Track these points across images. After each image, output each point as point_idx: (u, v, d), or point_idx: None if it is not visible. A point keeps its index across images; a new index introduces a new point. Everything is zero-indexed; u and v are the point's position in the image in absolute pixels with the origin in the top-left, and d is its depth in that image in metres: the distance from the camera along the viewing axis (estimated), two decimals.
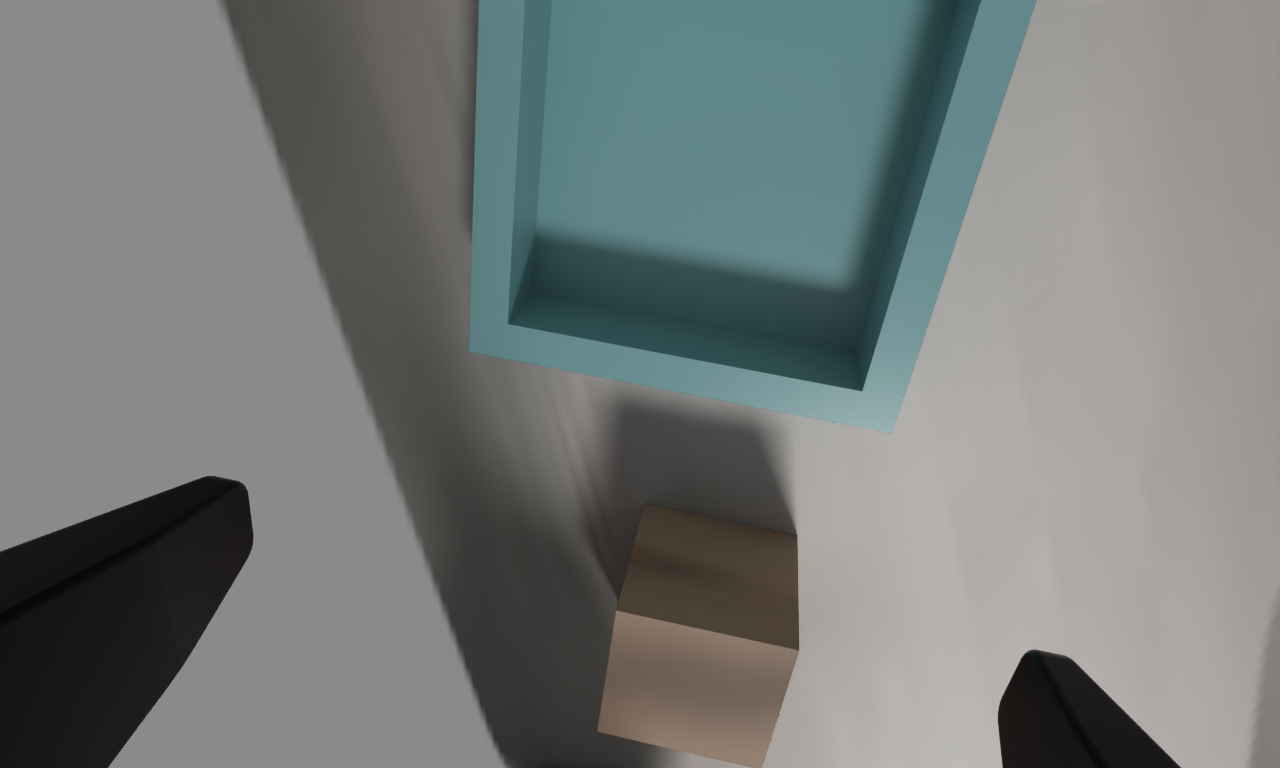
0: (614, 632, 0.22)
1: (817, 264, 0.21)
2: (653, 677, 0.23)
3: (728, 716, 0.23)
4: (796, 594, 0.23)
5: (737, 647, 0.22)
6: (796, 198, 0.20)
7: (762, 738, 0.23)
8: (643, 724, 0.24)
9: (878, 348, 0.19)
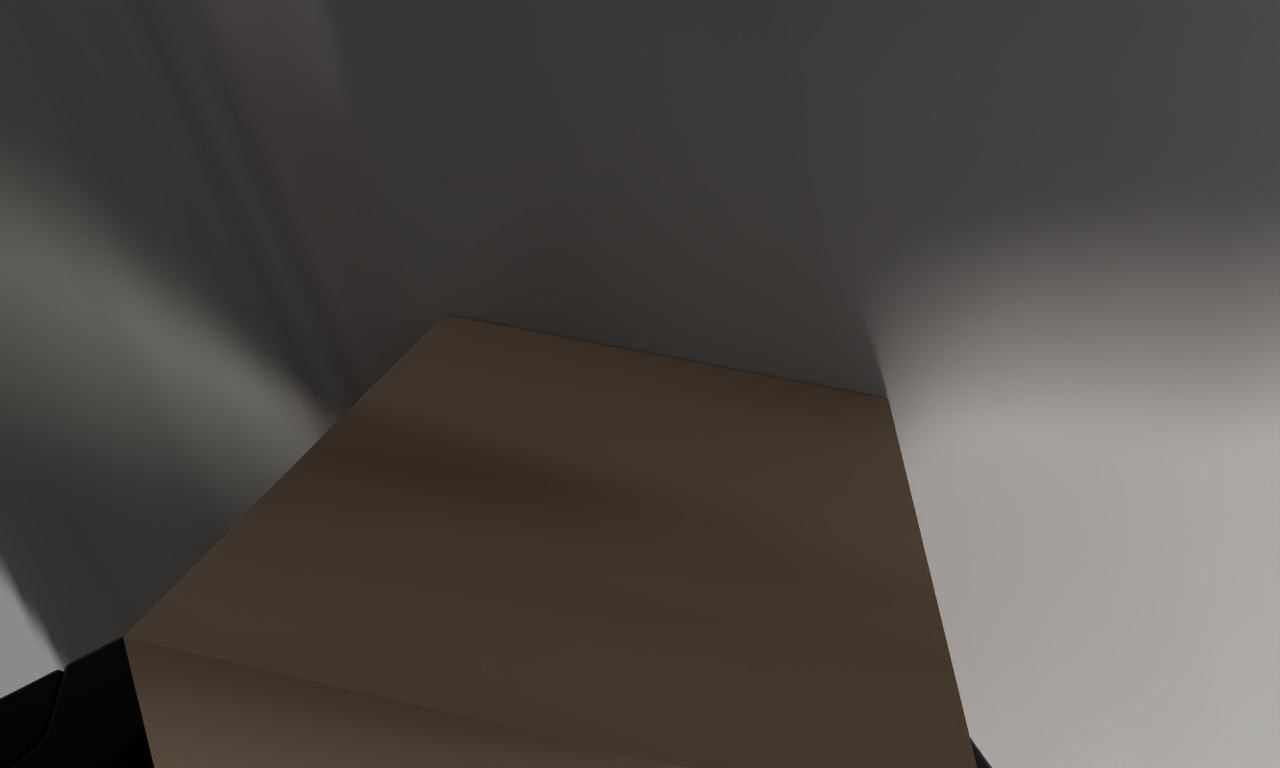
0: (153, 732, 0.05)
1: None
2: None
3: None
4: (923, 571, 0.06)
5: None
6: None
7: None
8: None
9: None
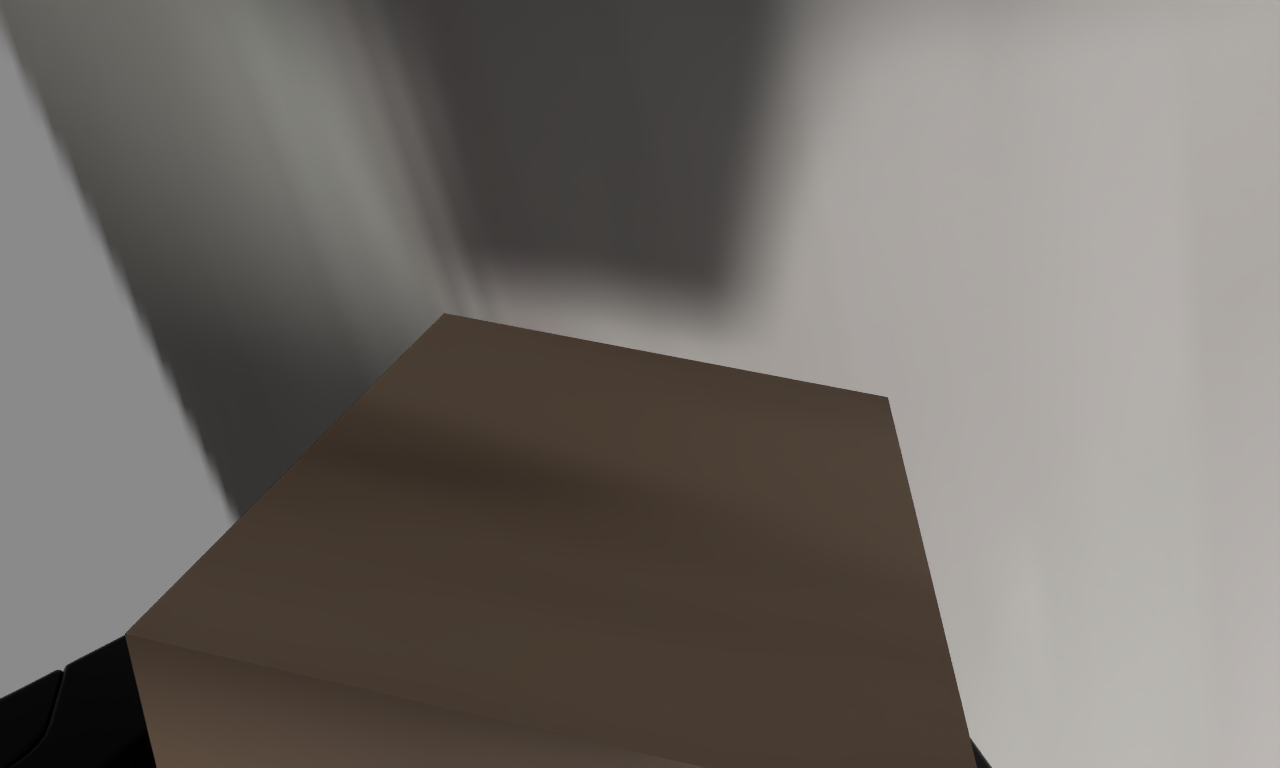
0: (154, 728, 0.05)
1: None
2: None
3: None
4: (922, 568, 0.06)
5: None
6: None
7: None
8: None
9: None
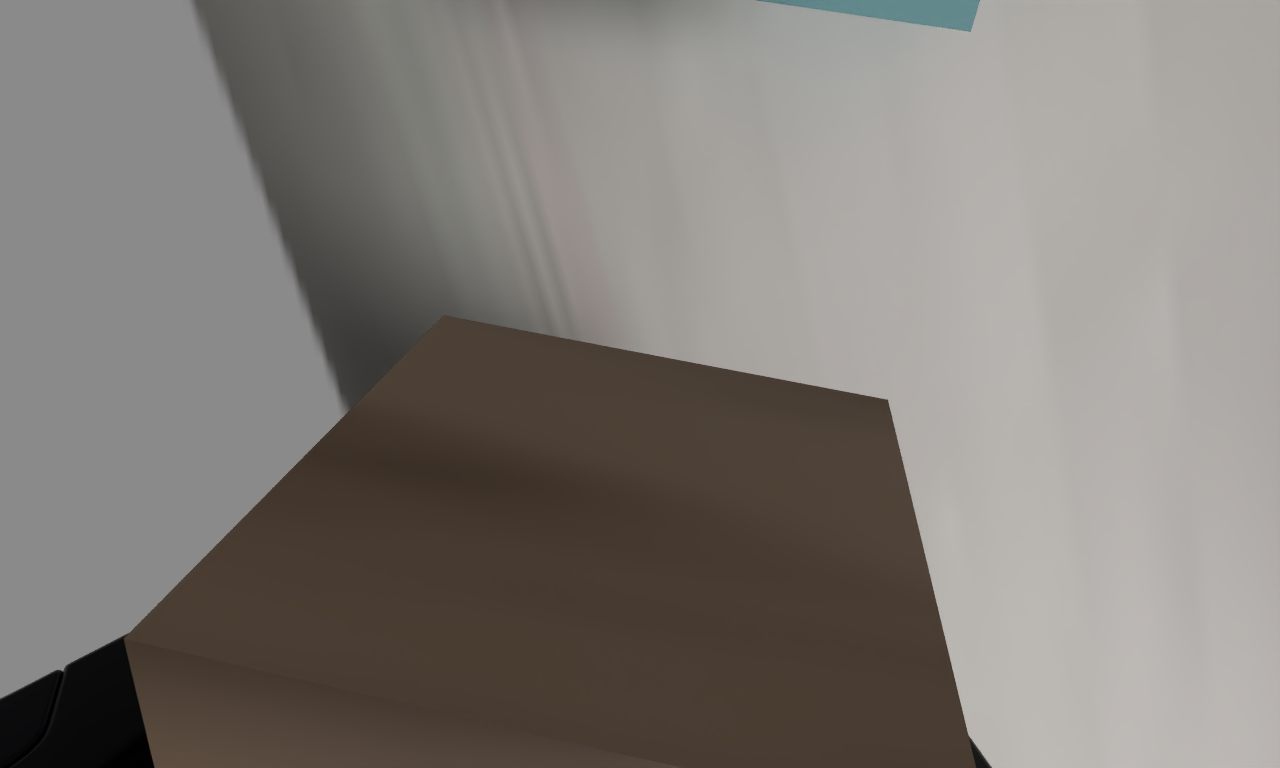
0: (153, 733, 0.05)
1: None
2: None
3: None
4: (922, 572, 0.06)
5: None
6: None
7: None
8: None
9: None
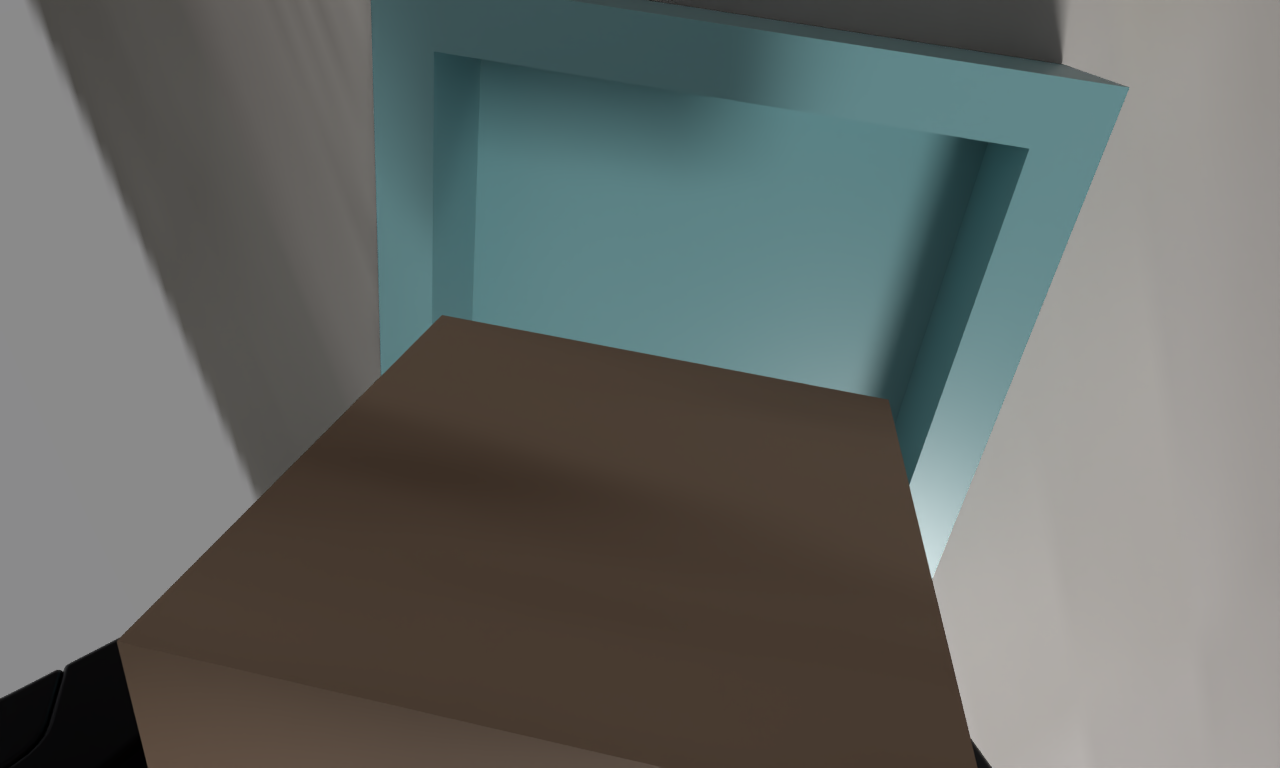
0: (147, 737, 0.05)
1: None
2: None
3: None
4: (924, 573, 0.06)
5: None
6: (784, 365, 0.16)
7: None
8: None
9: None
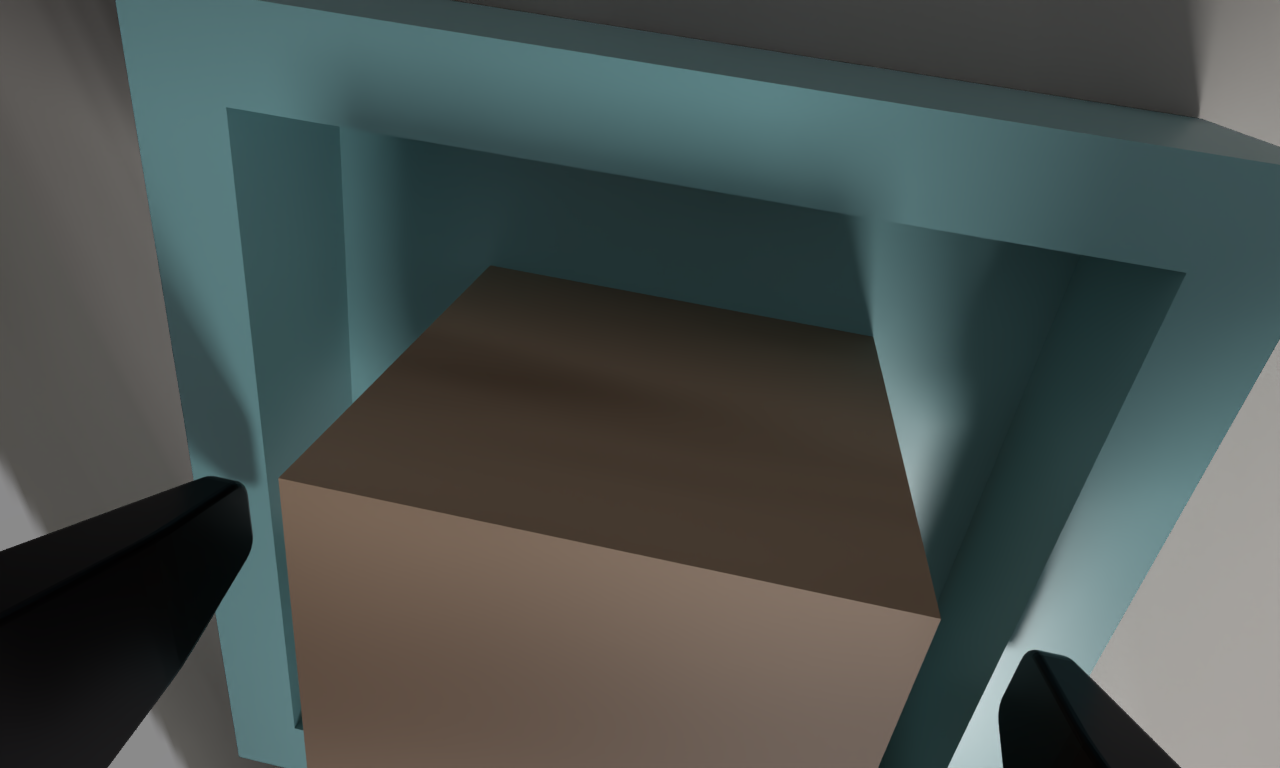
0: (292, 561, 0.06)
1: None
2: (442, 714, 0.07)
3: None
4: (897, 456, 0.08)
5: (710, 608, 0.06)
6: None
7: None
8: None
9: None
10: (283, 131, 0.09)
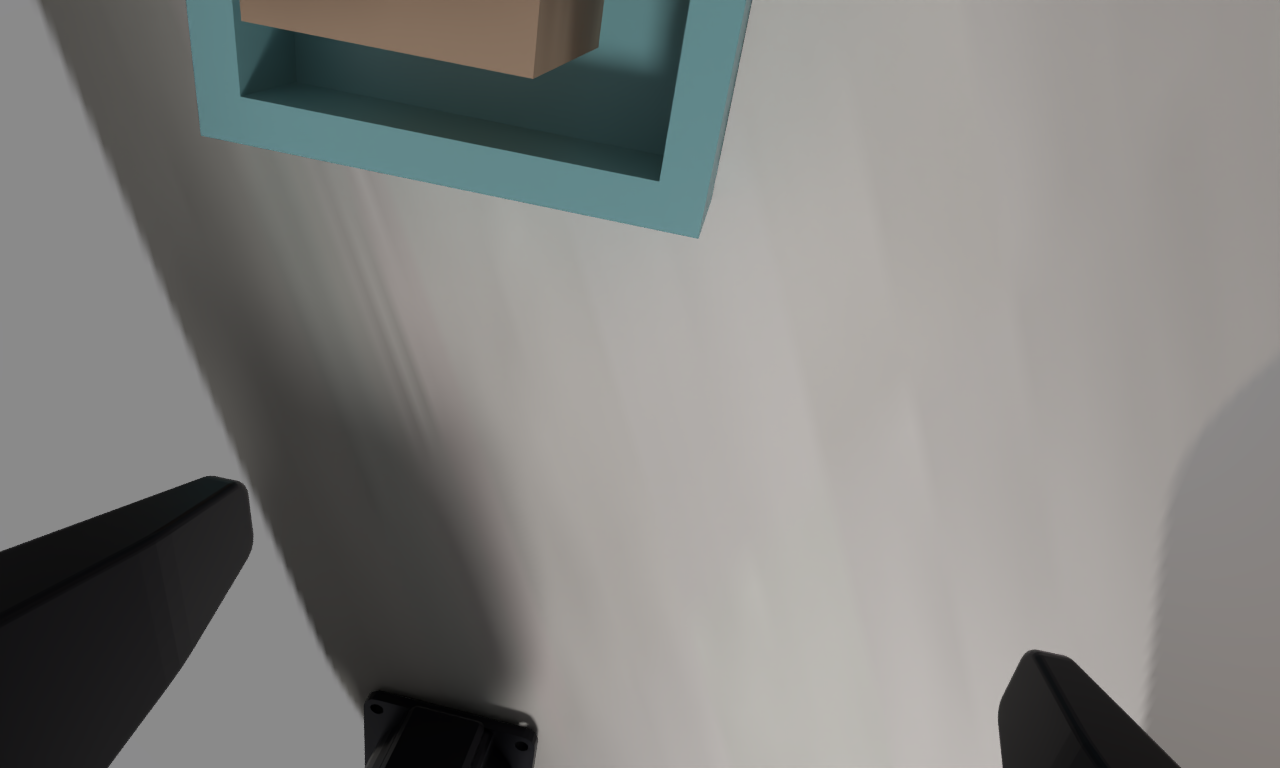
0: None
1: (620, 38, 0.17)
2: None
3: None
4: None
5: None
6: None
7: None
8: None
9: (673, 121, 0.16)
10: None
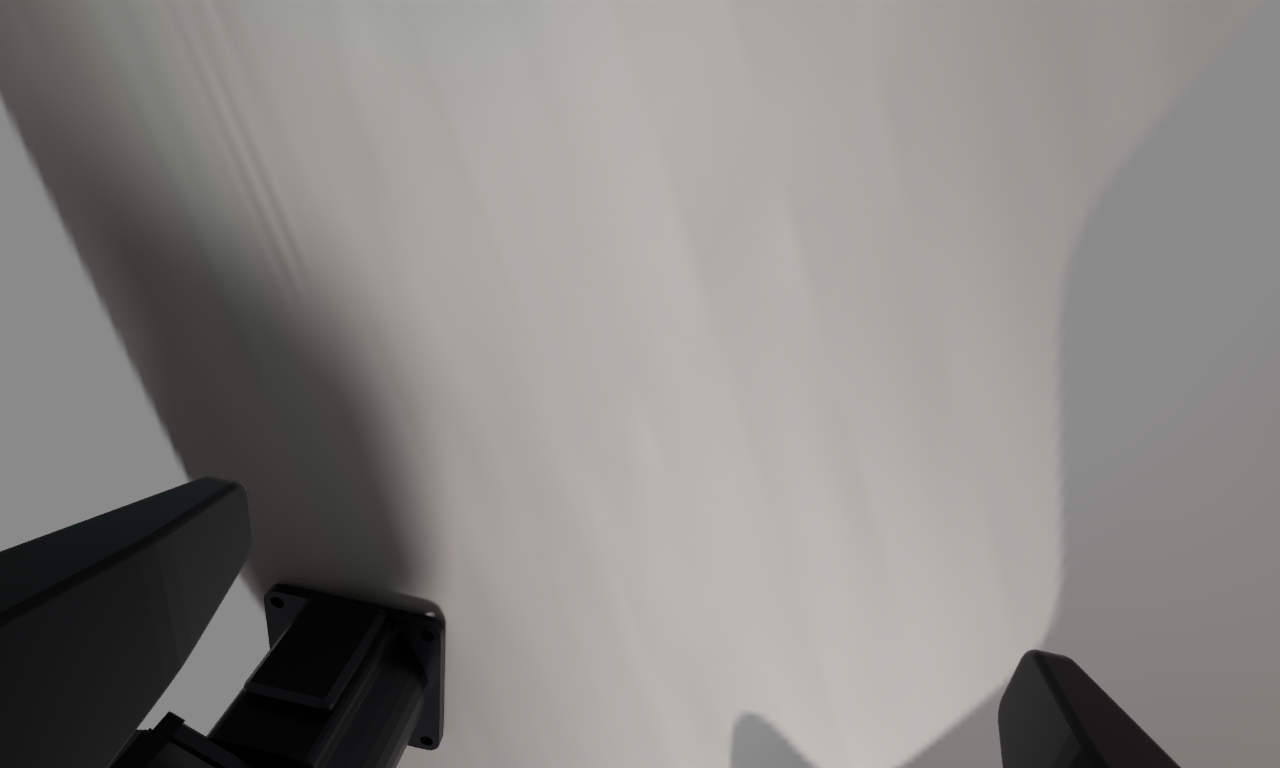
0: None
1: None
2: None
3: None
4: None
5: None
6: None
7: None
8: None
9: None
10: None
